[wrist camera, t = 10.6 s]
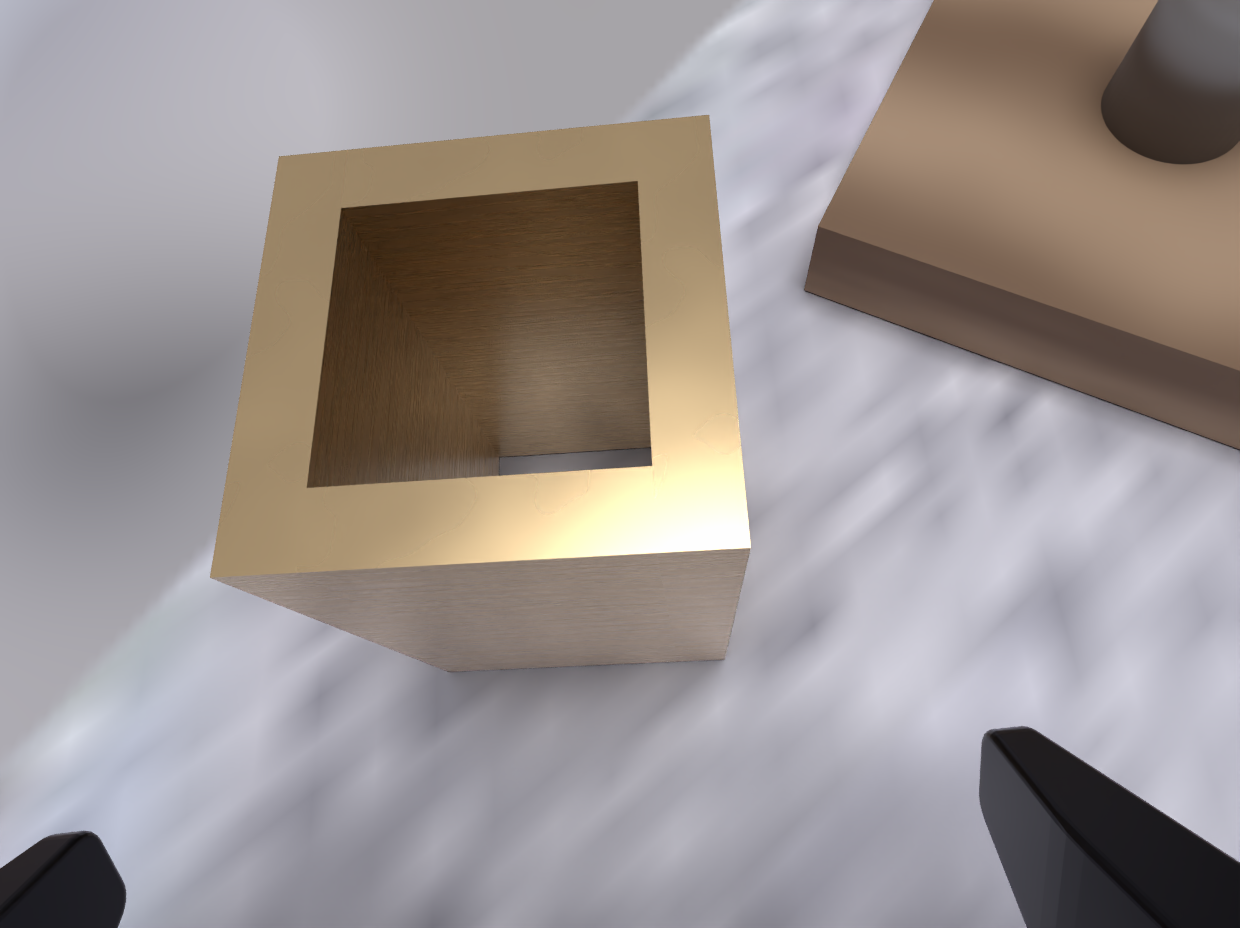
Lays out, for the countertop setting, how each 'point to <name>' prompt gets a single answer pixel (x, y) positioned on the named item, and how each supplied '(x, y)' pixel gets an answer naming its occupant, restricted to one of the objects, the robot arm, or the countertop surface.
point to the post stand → (1059, 199)
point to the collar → (494, 400)
